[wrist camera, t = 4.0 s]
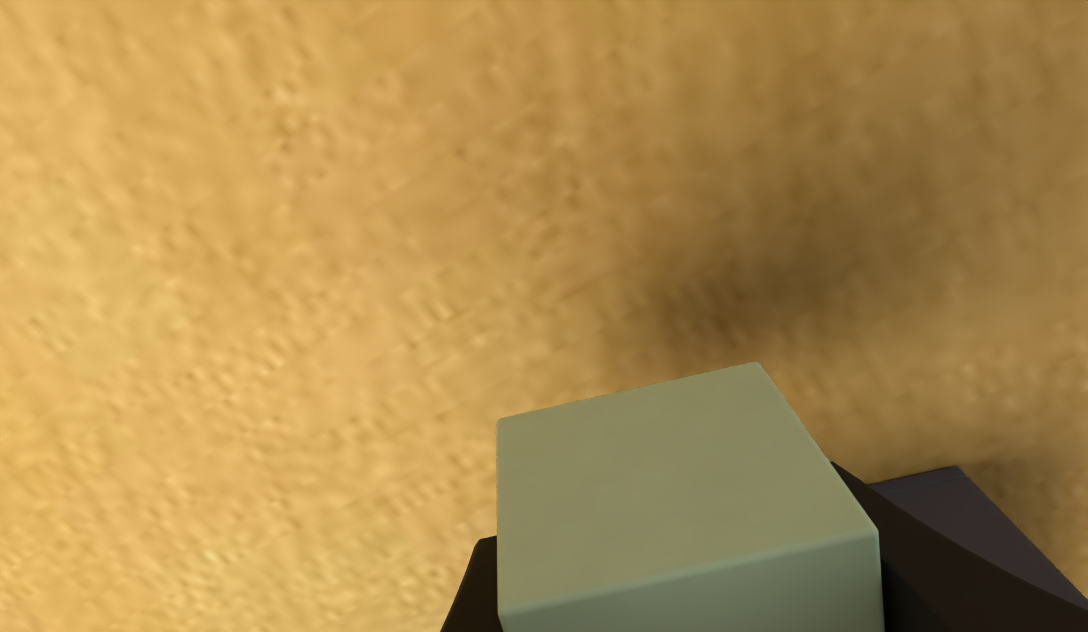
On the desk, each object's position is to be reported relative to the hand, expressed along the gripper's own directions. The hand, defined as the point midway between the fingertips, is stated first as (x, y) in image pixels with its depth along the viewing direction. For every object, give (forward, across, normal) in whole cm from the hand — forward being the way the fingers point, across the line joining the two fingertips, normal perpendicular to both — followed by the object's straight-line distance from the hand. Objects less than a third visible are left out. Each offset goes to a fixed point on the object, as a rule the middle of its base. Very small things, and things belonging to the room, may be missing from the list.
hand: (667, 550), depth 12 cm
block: (+1, 0, 0) cm, 1 cm away
